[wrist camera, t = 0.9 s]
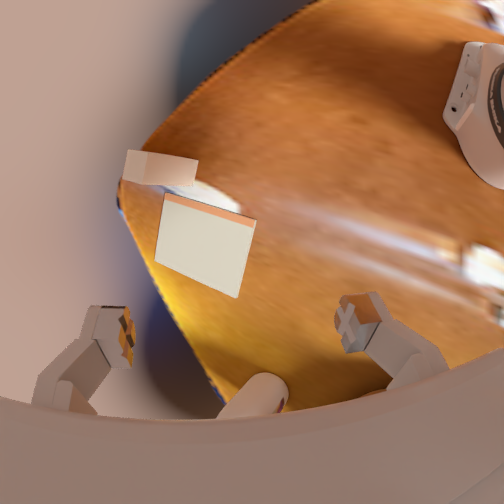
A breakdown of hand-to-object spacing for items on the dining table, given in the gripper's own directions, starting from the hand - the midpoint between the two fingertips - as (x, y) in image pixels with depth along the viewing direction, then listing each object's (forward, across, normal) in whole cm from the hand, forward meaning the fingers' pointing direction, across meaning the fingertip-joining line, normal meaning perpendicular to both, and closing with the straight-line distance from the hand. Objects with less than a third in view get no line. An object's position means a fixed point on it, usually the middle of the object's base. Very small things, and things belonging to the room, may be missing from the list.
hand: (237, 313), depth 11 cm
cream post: (+41, +5, +10) cm, 43 cm away
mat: (+34, +2, +20) cm, 40 cm away
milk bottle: (+16, -8, +40) cm, 44 cm away
